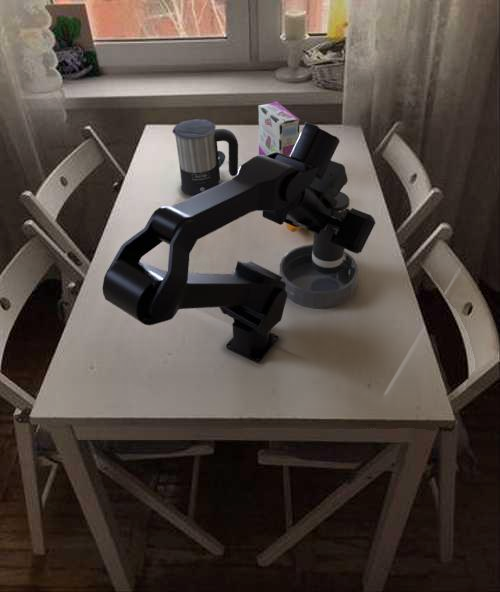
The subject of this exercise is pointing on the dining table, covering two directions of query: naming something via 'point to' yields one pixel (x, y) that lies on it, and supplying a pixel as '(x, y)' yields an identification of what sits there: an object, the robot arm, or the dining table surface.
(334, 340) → the dining table surface
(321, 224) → the robot arm
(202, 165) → the milk frother
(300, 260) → the pan
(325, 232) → the canister
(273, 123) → the candy bar box
